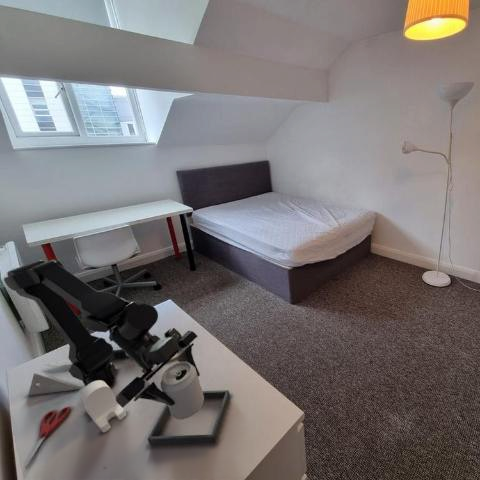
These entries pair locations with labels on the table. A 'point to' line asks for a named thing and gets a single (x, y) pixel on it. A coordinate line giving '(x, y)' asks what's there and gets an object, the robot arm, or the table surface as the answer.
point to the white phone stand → (101, 404)
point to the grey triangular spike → (48, 385)
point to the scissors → (49, 427)
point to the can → (182, 390)
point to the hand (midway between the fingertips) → (186, 389)
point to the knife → (67, 362)
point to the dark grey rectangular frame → (190, 439)
